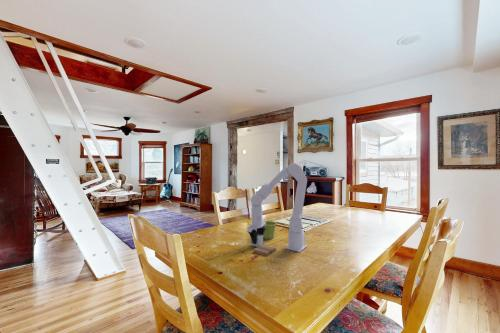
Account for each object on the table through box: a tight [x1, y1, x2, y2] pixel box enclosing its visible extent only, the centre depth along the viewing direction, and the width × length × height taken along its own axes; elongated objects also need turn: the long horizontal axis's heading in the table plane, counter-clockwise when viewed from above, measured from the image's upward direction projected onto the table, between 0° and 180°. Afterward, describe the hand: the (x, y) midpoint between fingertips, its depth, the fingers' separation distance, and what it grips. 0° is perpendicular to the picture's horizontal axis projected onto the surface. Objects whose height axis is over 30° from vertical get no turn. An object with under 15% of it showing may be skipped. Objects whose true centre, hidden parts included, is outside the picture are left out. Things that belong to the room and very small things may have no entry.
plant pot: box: [263, 220, 277, 240], centre depth 135 cm, size 9×9×9 cm
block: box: [250, 234, 264, 248], centre depth 122 cm, size 5×5×5 cm
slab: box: [253, 244, 277, 257], centre depth 114 cm, size 8×8×2 cm
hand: (257, 242), depth 122 cm, fingers closed on block, 5 cm apart
